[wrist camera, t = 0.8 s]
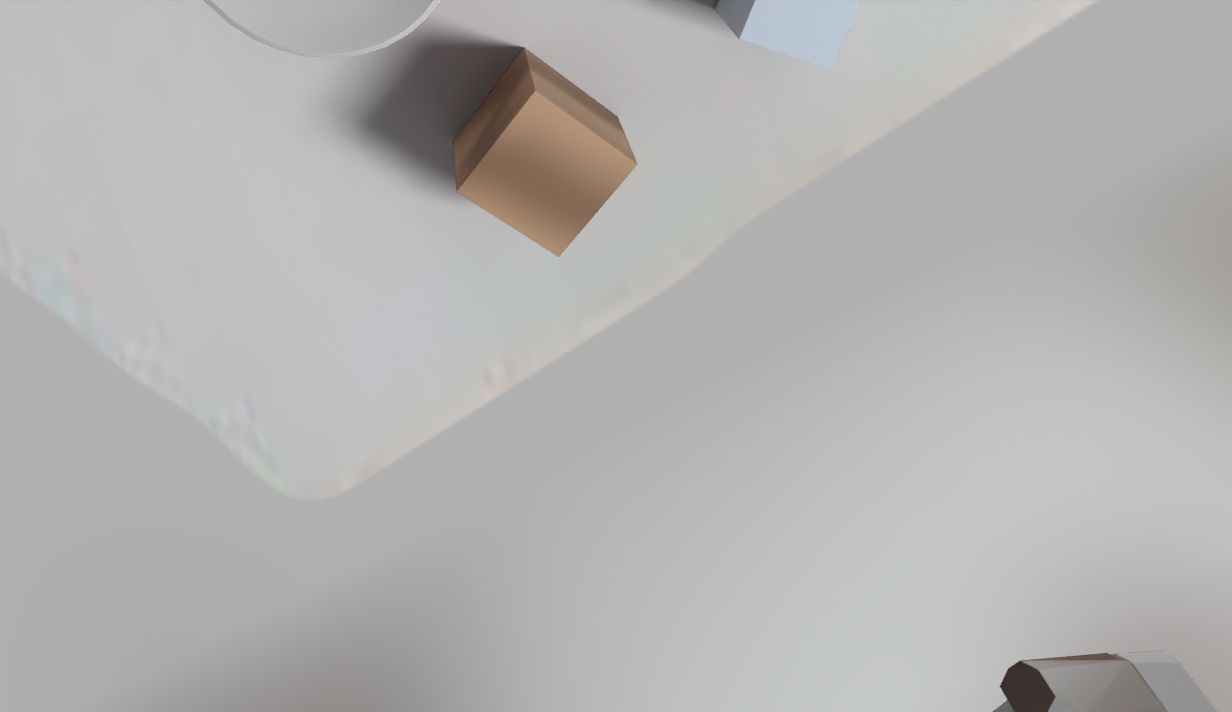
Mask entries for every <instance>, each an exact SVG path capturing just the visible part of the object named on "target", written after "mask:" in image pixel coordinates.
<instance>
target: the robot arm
mask: <svg viewBox="0 0 1232 712" xmlns="http://www.w3.org/2000/svg"><path fill="white" fill-rule="evenodd" d="M1000 687H1001V689H1002V691H1003V693H1004V695H1005V696H1006V698H1007V701H1006V702H1004V703H1003V704H1002V705H1001V706H999V707H998V708H997V709H996V710H994V711H993V712H1218V711H1217V710H1216V709H1215V708H1214V706H1213V705H1212V704H1211V702H1210V701H1209V700H1208V698H1207V697H1206V696H1205V695H1204V693H1203V692H1202V691H1201V690H1200V688H1199V687H1198V686H1197V684H1196V683H1195V682H1194V680H1193V679H1192V678H1191V677H1190V675H1189V674H1188V673H1187V671H1186V670H1185V669H1184V668H1183V666H1182V665H1181V664H1180V663H1179V662H1178V661H1177V660H1176V659H1175V658H1173V657H1172V656H1170V655H1169V654H1167V653H1166V652H1164V651H1143V652H1131V653H1119V654H1111V655H1110V654H1108V653H1102V654H1089V655H1080V656H1079V655H1078V656H1067V657H1055V658H1044V659H1032V660H1021V661H1019V662H1017V663H1016V664H1014V665H1013V666H1011V667H1010V668H1009V669H1008V670H1007V672H1006V674H1005V677H1004V679H1003V681H1002V683H1001V685H1000Z"/></svg>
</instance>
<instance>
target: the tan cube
mask: <svg viewBox="0 0 1232 712" xmlns="http://www.w3.org/2000/svg"><path fill="white" fill-rule="evenodd" d="M453 147H454V161H455V174H456V188H457V192H458V193H459V194H461V195H462V196H464V197H466V198H467V199H469V200H470V201H472V202H473V203H475V204H477V205H478V206H480V207H481V208H483V209H484V210H486V211H488V212H489V213H491V214H492V215H494V216H495V217H497V218H498V219H500V220H502V221H503V222H505V223H506V224H508V225H509V226H511V227H513V228H514V229H516V230H517V231H519V232H520V233H522V234H524V235H525V236H527V237H528V238H530V239H531V240H533V241H534V242H536V243H538V244H539V245H541V246H542V247H544V248H545V249H547V250H549V251H550V252H552V253H553V254H555V255H556V256H558V257H559V256H560V255H561V254H562V253H563V252H564V250H565V249H566V248H567V247H568V246H569V245H570V243H571V242H572V241H573V240H574V239H575V237H576V236H577V235H578V234H579V233H580V232H581V230H582V229H583V228H584V227H585V226H586V224H587V223H588V222H589V221H590V220H591V219H592V217H593V216H594V215H595V214H596V213H597V212H598V210H599V209H600V208H601V207H602V206H603V204H604V203H605V202H606V201H607V200H608V199H609V197H610V196H611V195H612V194H613V193H614V191H615V190H616V189H617V188H618V187H619V186H620V184H621V183H622V182H623V181H624V180H625V178H626V177H627V176H628V175H629V174H630V173H631V171H632V170H633V169H634V168H635V167H636V166H637V162H636V160H635V157H634V155H633V152H632V150H631V148H630V145H629V143H628V140H627V138H626V136H625V133H624V131H623V128H622V126H621V124H620V121H619V119H618V117H617V116H616V115H615V114H613V113H612V112H611V111H609V110H608V109H607V108H605V107H604V106H602V105H601V104H600V103H598V102H597V101H596V100H594V99H593V98H592V97H590V96H589V95H588V94H586V93H585V92H584V91H582V90H581V89H580V88H578V87H577V86H576V85H574V84H573V83H571V82H570V81H569V80H567V79H566V78H565V77H563V76H562V75H561V74H559V73H558V72H557V71H555V70H554V69H553V68H551V67H550V66H549V65H547V64H546V63H545V62H543V61H542V60H541V59H539V58H538V57H536V56H535V55H534V54H532V53H531V52H530V51H528V50H527V49H526V48H523V49H522V51H521V52H520V53H519V55H518V56H517V57H516V59H515V60H514V61H513V63H512V64H511V65H510V67H509V68H508V69H507V71H506V72H505V73H504V75H503V76H502V77H501V79H500V80H499V81H498V82H497V84H496V85H495V86H494V88H493V89H492V90H491V92H490V93H489V94H488V96H487V97H486V98H485V100H484V101H483V102H482V104H481V105H480V106H479V108H478V109H477V110H476V112H475V113H474V114H473V116H472V117H471V118H470V119H469V121H468V122H467V123H466V125H465V126H464V127H463V129H462V130H461V131H460V133H459V134H458V135H457V137H456V138H455V139H454V141H453Z"/></svg>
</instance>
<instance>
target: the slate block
mask: <svg viewBox="0 0 1232 712" xmlns="http://www.w3.org/2000/svg"><path fill="white" fill-rule="evenodd" d="M861 3H862V0H719V1H718V3H717V6H716V8H715V10H716V11H717V12H718V13H719V15H720V16H721V17H722V18H723V20H724V21H725V22H726V23H727V25H728V26H729V27H730V29H731V30H732V31H733V32H734V34H735V35H736V36H737V37H738V39H739V40H742V41H745V42H748V43H752V44H755V45H758V46H761V47H764V48H767V49H770V50H773V51H776V52H779V53H782V54H785V55H789V56H792V57H795V58H798V59H801V60H804V61H807V62H810V63H813V64H816V65H819V66H823V67H826V68H829V69H831V67H832V65H833V63H834V61H835V59H836V57H837V54H838V52H839V50H840V48H841V46H842V44H843V41H844V39H845V37H846V35H847V33H848V31H849V29H850V26H851V24H852V22H853V20H854V18H855V16H856V13H857V11H858V9H859V7H860V5H861Z"/></svg>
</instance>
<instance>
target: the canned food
mask: <svg viewBox="0 0 1232 712" xmlns="http://www.w3.org/2000/svg"><path fill="white" fill-rule="evenodd" d="M440 1H441V0H205V2H206V3H207V4H208V5H209V6H210V7H211V8H213V9H214V10H215V11H216V12H217V13H218V14H219V15H220V16H221V17H222V18H223V19H225V20H226V21H227V22H228V23H229V24H231V25H232V26H234V27H235V28H237V29H238V30H240V31H242V32H243V33H245V34H246V35H248V36H249V37H251V38H252V39H255V40H257V41H259V42H261V43H264V44H266V45H268V46H271V47H273V48H275V49H278V50H281V51H285V52H289V53H293V54H297V55H301V56H306V57H319V58H341V57H350V56H359V55H363V54H366V53H369V52H372V51H375V50H378V49H382V48H385V47H387V46H388V45H390V44H392V43H394V42H396V41H398V40H399V39H401V38H403V37H405V36H407V35H408V34H409V33H410V32H412V31H413V30H414V29H415V28H416V27H418V26H419V25H420V24H421V23H422V22H423V21H425V20H426V19H427V18H428V16H429V15H430V14H431V12H432V11H433V10H434V9H435V7H436V6H437V5H438V3H439V2H440Z"/></svg>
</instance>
